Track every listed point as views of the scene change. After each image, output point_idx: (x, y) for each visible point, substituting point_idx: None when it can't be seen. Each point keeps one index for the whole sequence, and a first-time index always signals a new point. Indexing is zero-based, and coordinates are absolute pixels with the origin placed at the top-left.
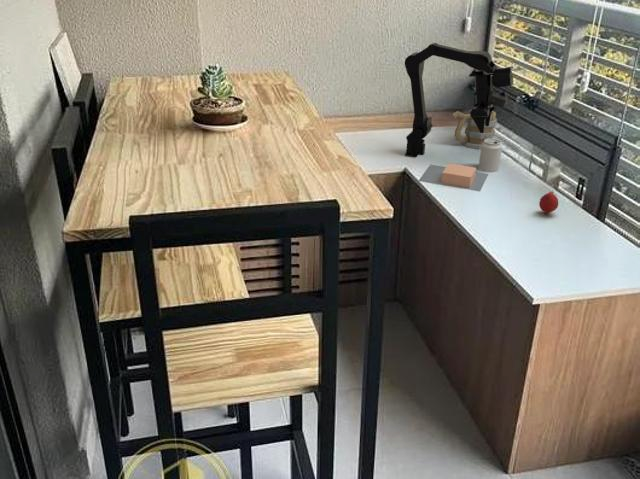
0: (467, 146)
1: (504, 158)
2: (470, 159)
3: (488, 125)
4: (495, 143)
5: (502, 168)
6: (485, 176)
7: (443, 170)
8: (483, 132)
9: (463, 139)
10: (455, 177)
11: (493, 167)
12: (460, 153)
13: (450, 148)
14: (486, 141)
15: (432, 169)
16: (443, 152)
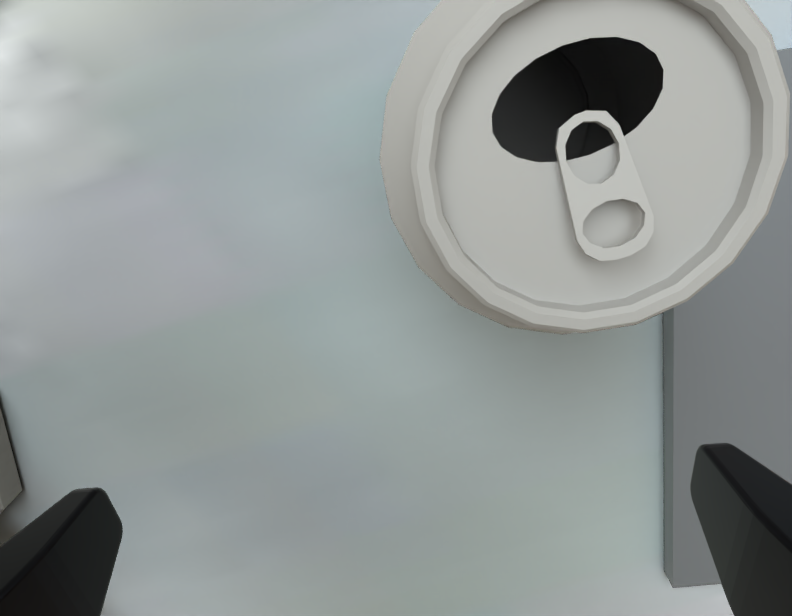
0: (19, 488)
1: (28, 95)
2: (294, 370)
3: (94, 503)
4: (384, 142)
5: (336, 9)
6: None
7: (774, 467)
8: (733, 447)
9: None
10: None
11: (612, 40)
12: (208, 482)
13: (154, 575)
14: (591, 280)
15: None
16: (281, 588)
